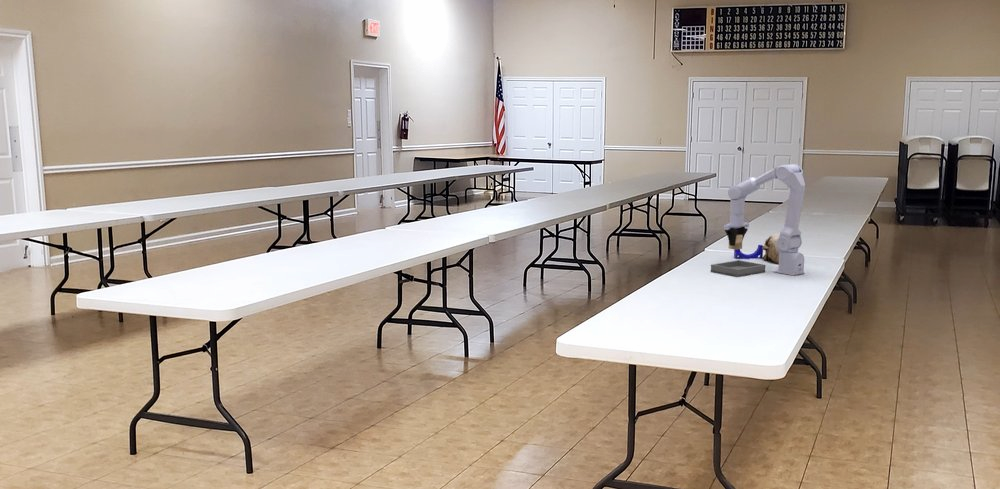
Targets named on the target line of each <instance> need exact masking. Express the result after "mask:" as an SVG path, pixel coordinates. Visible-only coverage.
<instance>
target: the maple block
mask: <svg viewBox="0 0 1000 489" xmlns="http://www.w3.org/2000/svg"><path fill="white" fill-rule="evenodd" d="M742 239H743V240H744V238H743V235H740V234H737V235H736V241H735V246H731V245H730V244H729V243H728V249H730V250H734V249H735V250H737V249H740V250H742V249H743V241H742Z"/></svg>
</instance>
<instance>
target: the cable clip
mask: <svg viewBox="0 0 1000 489" xmlns="http://www.w3.org/2000/svg"><path fill="white" fill-rule="evenodd" d="M763 246H764V244H758V246H757V248H756V250H755V251H754V252H753V253H749V254H745V253H744V252H742V251H741V249H737V250H735V249H733V254H734V255H733V258H734V259H736V260H750V259H751V260H753V259H756V260H757V259H760V260H762V259H763V257H764V255H763V254H764V250H763V249H762V248H763ZM763 260H764V259H763Z"/></svg>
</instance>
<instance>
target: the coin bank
mask: <svg viewBox="0 0 1000 489" xmlns="http://www.w3.org/2000/svg"><path fill="white" fill-rule="evenodd" d="M779 236H780V232H778V233H774V234H773V233H772V234H771V235H770V236H768V238H766V239H765V241H764V244H763V248H762V249H763V251H765V254H764V255H763V261H772V262H773V263H774V264H779V249H778V247H777V245H776V241H777V239H778V238H779Z"/></svg>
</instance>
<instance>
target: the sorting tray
mask: <svg viewBox="0 0 1000 489" xmlns="http://www.w3.org/2000/svg"><path fill="white" fill-rule="evenodd" d="M766 268H767V267H766V264H763V263H756V262H751V261H746V260H742V259H736V260H731V261H726V262H720V263H714V264H713V263H712V264H711V265H710V272H711V273H715V274H720V275H726V276H731V277H736V278H739V277H740V278H741V277H745V276H750V275H751V274H752V275H757V274H761V273H765V272H766Z"/></svg>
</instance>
